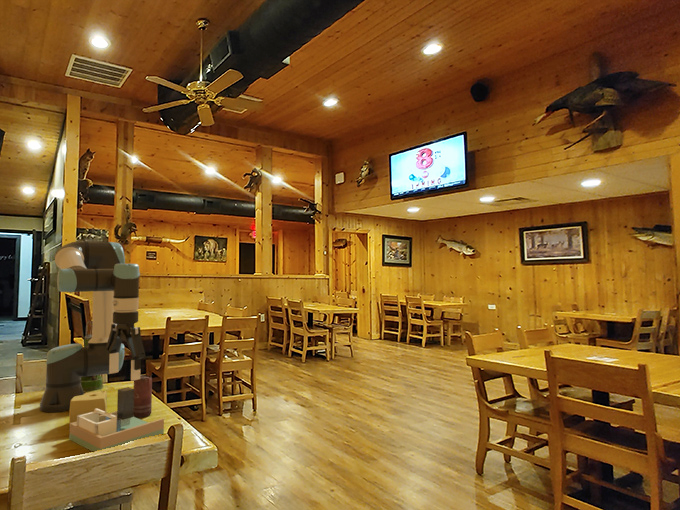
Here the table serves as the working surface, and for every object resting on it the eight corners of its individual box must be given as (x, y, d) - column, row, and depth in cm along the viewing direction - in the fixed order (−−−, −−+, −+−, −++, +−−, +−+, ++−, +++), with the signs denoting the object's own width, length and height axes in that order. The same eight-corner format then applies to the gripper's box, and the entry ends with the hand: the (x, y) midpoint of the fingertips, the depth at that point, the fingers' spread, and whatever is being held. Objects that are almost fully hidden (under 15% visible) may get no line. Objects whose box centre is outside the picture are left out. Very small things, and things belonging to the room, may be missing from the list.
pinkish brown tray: (69, 439, 139) (69, 423, 139) (131, 421, 155) (131, 407, 155) (100, 455, 127) (100, 438, 127) (163, 434, 143) (163, 419, 143)
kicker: (105, 428, 141) (106, 390, 142) (124, 423, 146) (125, 386, 147) (116, 433, 137) (117, 394, 138) (136, 427, 142) (136, 389, 143)
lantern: (109, 388, 197) (111, 320, 197) (84, 393, 188) (86, 323, 189) (94, 383, 205) (95, 318, 205) (69, 388, 196) (71, 320, 197)
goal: (76, 435, 137) (77, 413, 137) (96, 429, 142) (97, 408, 142) (95, 445, 130) (96, 421, 130) (116, 438, 135) (116, 416, 135)
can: (145, 418, 158) (145, 379, 158) (129, 417, 159) (130, 378, 160) (155, 413, 164) (156, 375, 164) (140, 412, 165) (141, 374, 165)
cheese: (73, 421, 155) (74, 393, 155) (108, 417, 159) (108, 389, 159) (68, 431, 145) (69, 401, 145) (105, 427, 149) (105, 397, 150)
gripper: (95, 308, 148) (94, 372, 148) (135, 315, 133) (133, 385, 133) (117, 307, 154) (116, 368, 154) (158, 313, 139) (156, 380, 139)
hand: (124, 376), depth 143 cm, fingers open, 13 cm apart
